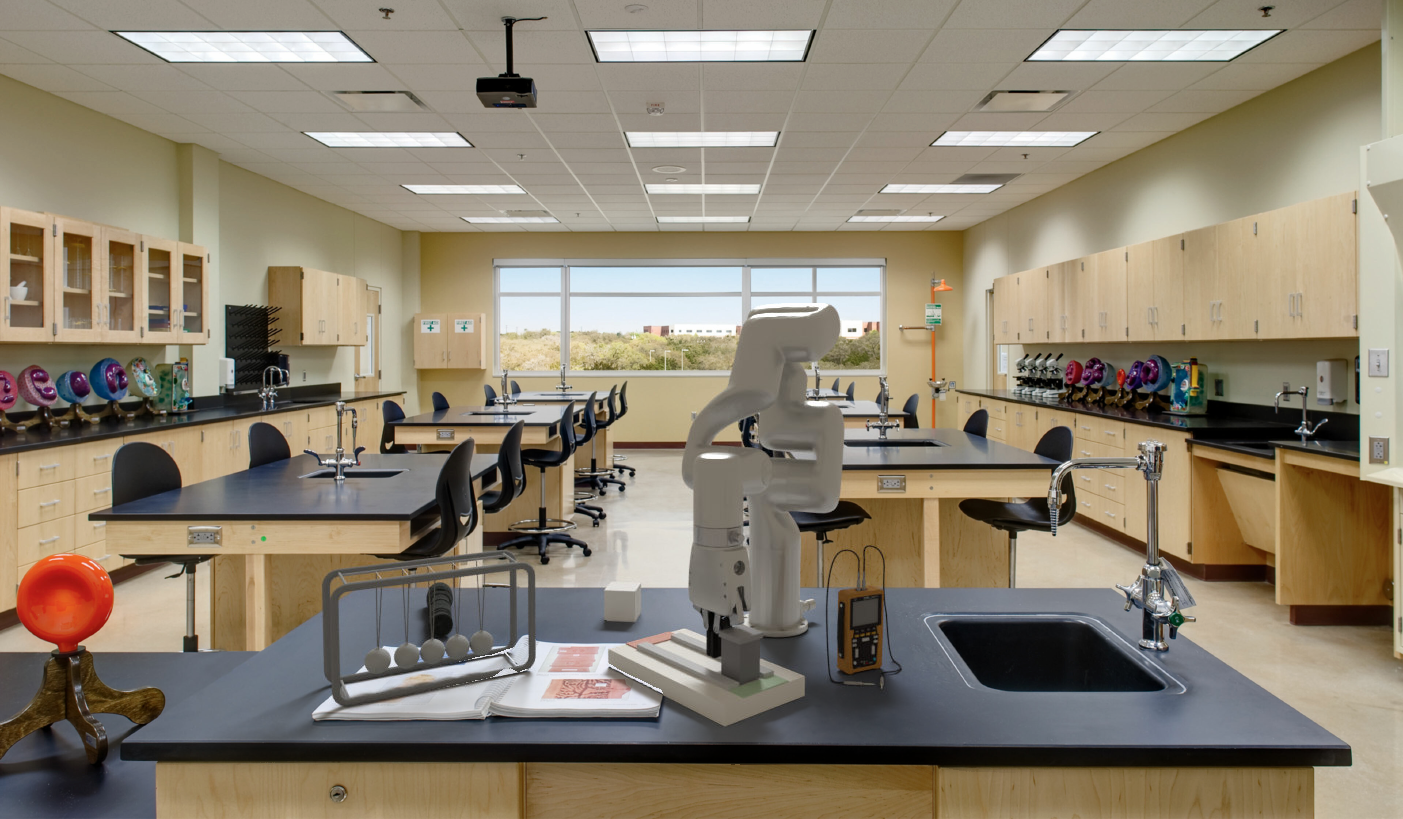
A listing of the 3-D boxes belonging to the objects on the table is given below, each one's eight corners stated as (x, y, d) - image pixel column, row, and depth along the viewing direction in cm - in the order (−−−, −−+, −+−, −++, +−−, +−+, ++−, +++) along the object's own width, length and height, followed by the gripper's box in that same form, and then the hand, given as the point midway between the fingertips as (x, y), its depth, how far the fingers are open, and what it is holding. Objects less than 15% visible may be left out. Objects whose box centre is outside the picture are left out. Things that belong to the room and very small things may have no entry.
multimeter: (856, 697, 123) (859, 564, 121) (817, 674, 132) (819, 549, 130) (932, 679, 129) (935, 553, 128) (889, 659, 138) (892, 540, 137)
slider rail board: (684, 645, 144) (684, 623, 144) (804, 695, 123) (804, 670, 123) (608, 667, 134) (608, 644, 134) (724, 726, 113) (724, 699, 112)
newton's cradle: (332, 710, 117) (330, 586, 116) (323, 685, 126) (321, 570, 125) (536, 670, 132) (536, 561, 131) (515, 650, 141) (515, 547, 140)
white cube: (604, 621, 157) (604, 590, 157) (611, 611, 163) (610, 581, 163) (635, 622, 157) (635, 591, 156) (641, 612, 163) (641, 582, 162)
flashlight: (452, 604, 168) (452, 580, 167) (455, 637, 148) (455, 610, 148) (426, 607, 166) (426, 582, 166) (426, 640, 146) (425, 612, 146)
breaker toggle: (741, 668, 125) (741, 624, 124) (762, 677, 121) (763, 632, 121) (718, 676, 122) (718, 631, 121) (739, 685, 118) (740, 639, 118)
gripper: (771, 541, 121) (769, 663, 122) (705, 524, 132) (705, 636, 134) (732, 548, 116) (731, 676, 117) (668, 530, 127) (668, 646, 129)
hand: (717, 654), depth 125 cm, fingers closed
